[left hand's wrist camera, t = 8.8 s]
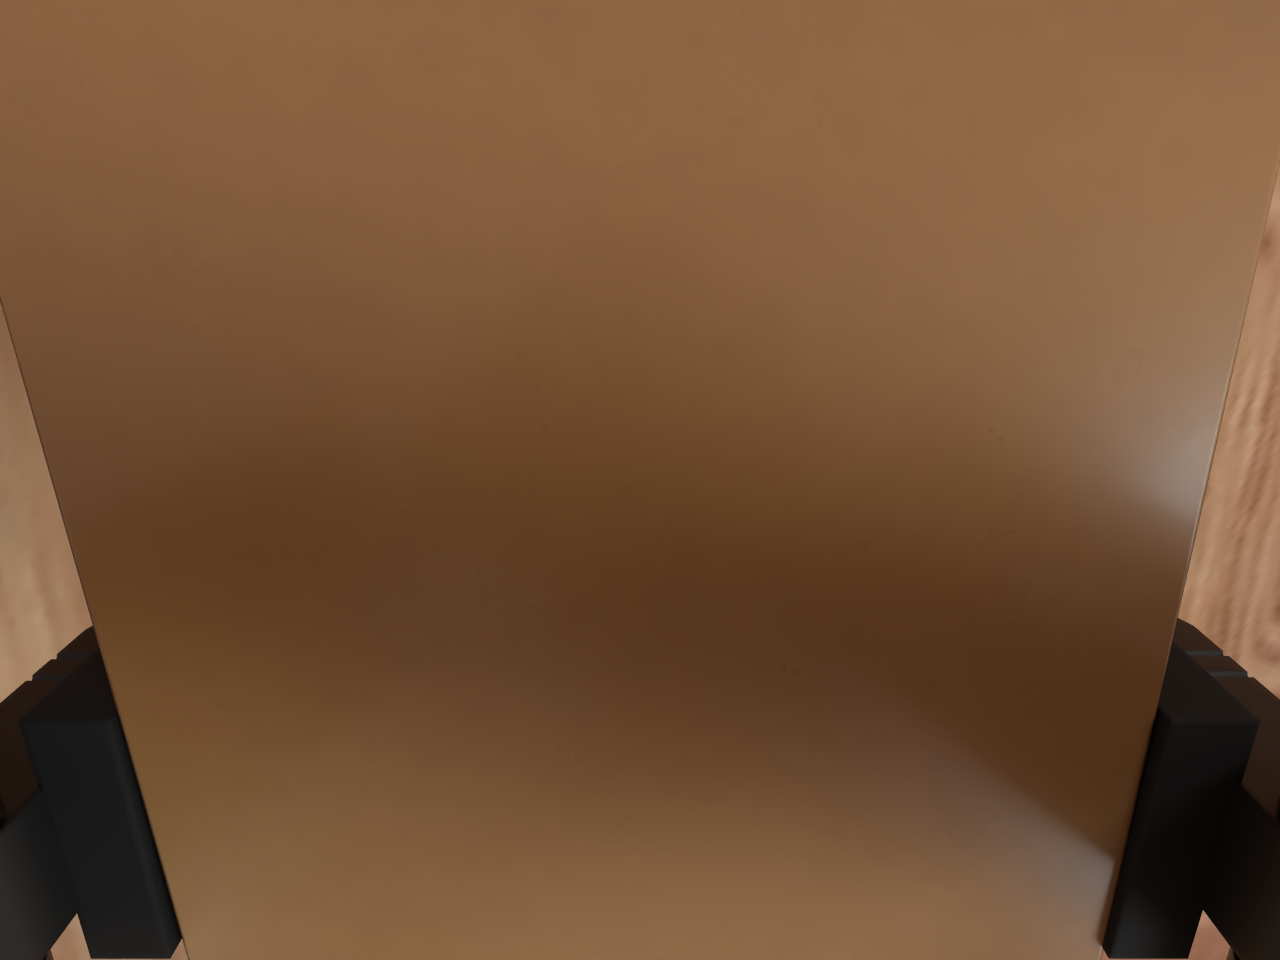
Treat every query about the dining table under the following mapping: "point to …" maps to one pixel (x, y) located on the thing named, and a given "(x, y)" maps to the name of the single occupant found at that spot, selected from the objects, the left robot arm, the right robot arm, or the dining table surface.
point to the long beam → (634, 451)
